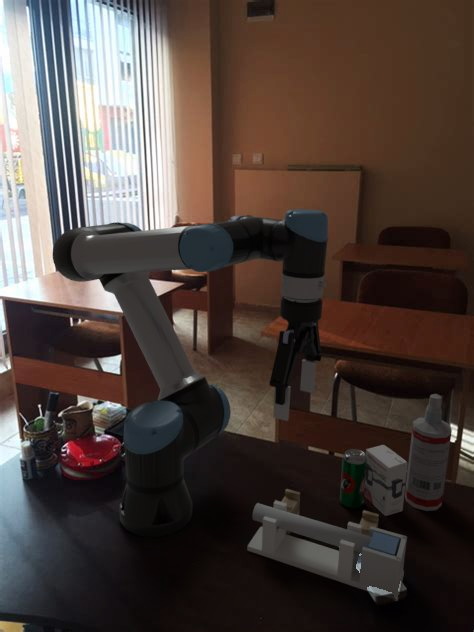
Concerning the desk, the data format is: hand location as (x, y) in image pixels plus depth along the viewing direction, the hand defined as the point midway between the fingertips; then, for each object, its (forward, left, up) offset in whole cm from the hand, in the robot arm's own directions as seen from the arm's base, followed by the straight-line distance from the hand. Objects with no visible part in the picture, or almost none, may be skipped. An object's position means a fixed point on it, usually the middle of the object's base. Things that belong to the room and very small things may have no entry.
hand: (294, 404), depth 103 cm
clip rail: (+10, -8, -27) cm, 30 cm away
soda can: (+10, +12, -27) cm, 31 cm away
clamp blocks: (+7, -1, -27) cm, 28 cm away
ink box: (+16, +15, -27) cm, 35 cm away
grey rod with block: (+9, -8, -22) cm, 25 cm away
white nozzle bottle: (+24, +20, -27) cm, 41 cm away
